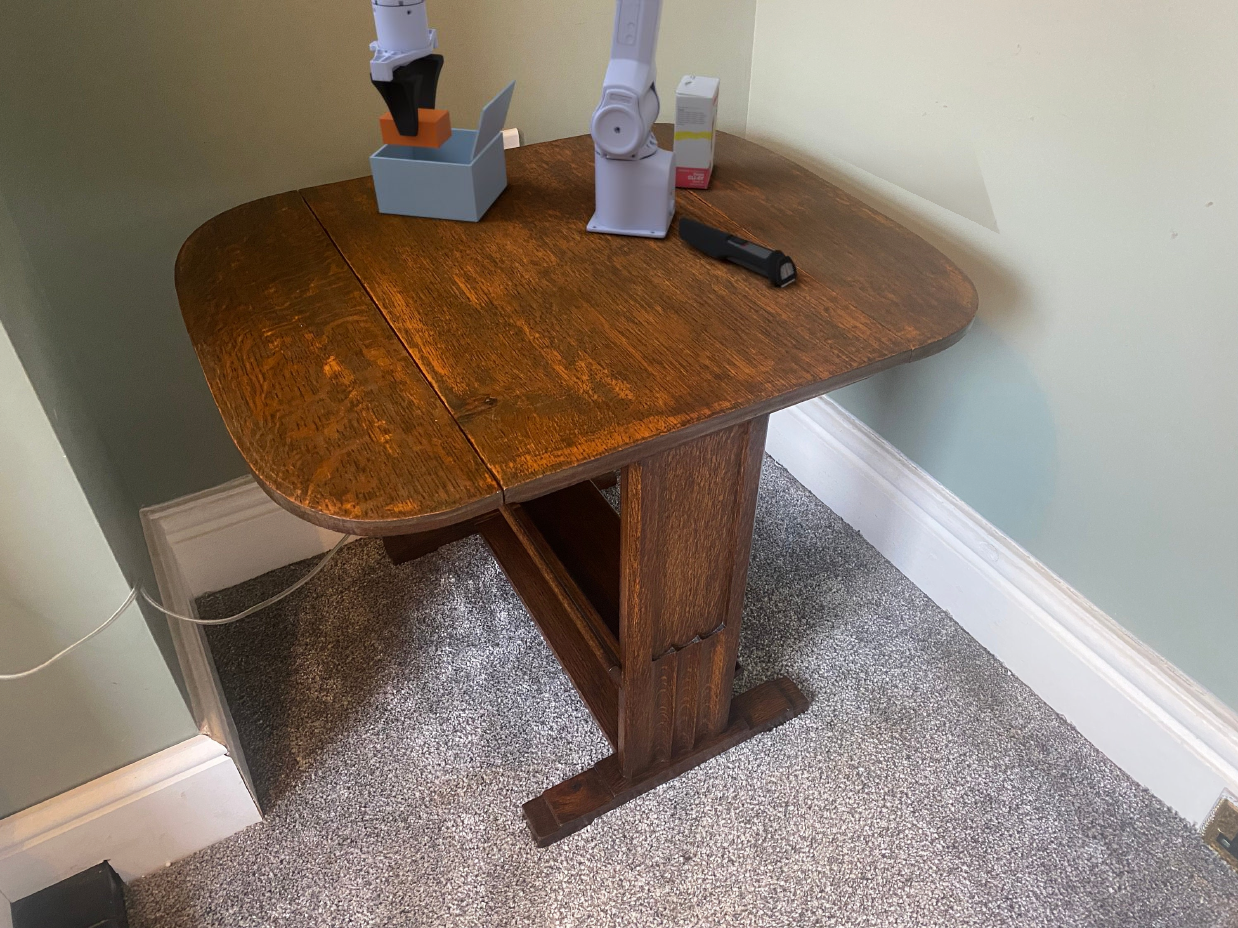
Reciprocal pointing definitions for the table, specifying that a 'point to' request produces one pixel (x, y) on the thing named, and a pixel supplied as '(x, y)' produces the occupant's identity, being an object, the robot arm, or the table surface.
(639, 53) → the robot arm
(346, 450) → the table surface
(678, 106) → the ink box
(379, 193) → the grey box
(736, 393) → the table surface
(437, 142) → the packet
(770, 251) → the electric trimmer
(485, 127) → the panel
